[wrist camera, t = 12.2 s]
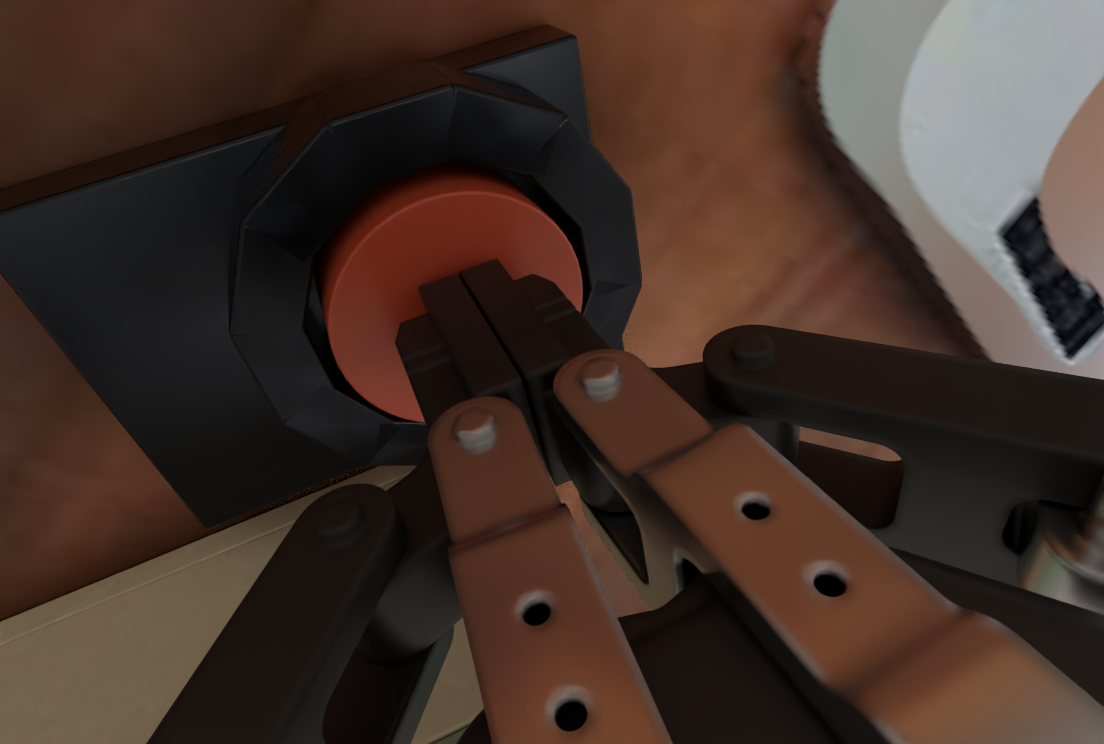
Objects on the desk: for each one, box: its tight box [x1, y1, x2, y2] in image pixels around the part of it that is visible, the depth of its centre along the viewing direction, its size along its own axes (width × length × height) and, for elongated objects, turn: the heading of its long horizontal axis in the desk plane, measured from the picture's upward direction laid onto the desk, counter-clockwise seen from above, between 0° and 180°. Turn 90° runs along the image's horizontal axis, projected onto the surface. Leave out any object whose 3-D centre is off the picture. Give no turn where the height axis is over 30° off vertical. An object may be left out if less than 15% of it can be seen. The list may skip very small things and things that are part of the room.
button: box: [316, 161, 583, 423], centre depth 13 cm, size 5×5×2 cm
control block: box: [0, 24, 642, 529], centre depth 14 cm, size 11×8×4 cm
